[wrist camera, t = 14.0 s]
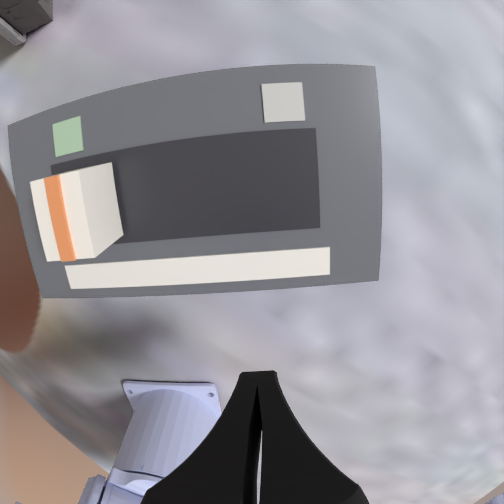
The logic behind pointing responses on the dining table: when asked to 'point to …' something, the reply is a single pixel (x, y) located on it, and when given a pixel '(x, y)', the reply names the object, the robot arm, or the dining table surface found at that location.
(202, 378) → the dining table surface
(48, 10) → the electrical switch
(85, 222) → the block
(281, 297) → the dining table surface
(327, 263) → the panel
